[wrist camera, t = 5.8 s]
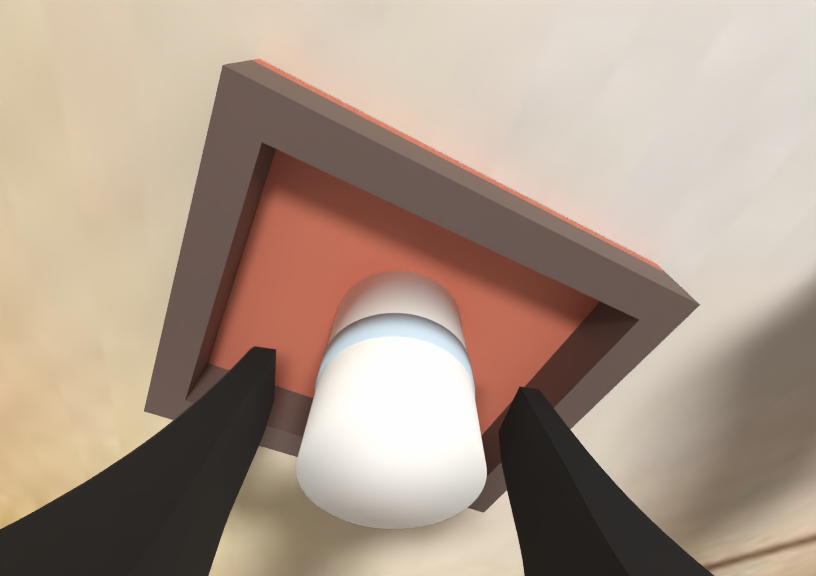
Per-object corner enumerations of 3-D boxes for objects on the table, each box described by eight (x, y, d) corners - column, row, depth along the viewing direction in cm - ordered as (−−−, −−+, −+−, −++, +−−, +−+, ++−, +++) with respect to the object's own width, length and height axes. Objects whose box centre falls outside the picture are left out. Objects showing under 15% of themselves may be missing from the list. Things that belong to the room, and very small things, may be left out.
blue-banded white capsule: (479, 284, 14) (517, 429, 9) (443, 380, 16) (457, 539, 11) (344, 256, 13) (303, 394, 8) (327, 360, 16) (287, 517, 11)
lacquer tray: (656, 264, 14) (700, 304, 12) (475, 461, 20) (483, 512, 18) (258, 59, 11) (222, 64, 9) (177, 363, 17) (143, 411, 15)
